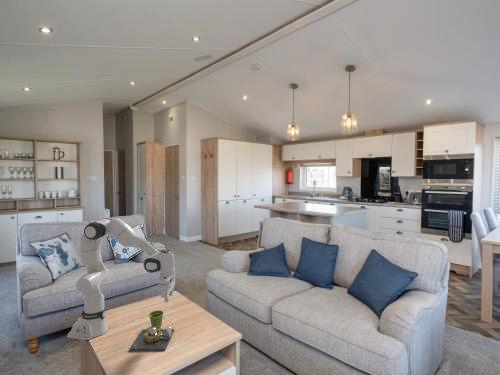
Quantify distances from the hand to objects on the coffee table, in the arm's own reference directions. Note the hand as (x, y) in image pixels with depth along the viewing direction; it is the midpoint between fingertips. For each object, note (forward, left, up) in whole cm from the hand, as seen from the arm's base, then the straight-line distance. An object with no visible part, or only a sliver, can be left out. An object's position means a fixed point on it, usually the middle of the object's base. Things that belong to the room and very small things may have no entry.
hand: (168, 298), depth 178 cm
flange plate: (-8, -5, -23) cm, 25 cm away
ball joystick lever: (-6, -5, -21) cm, 22 cm away
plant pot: (-11, +11, -23) cm, 28 cm away
